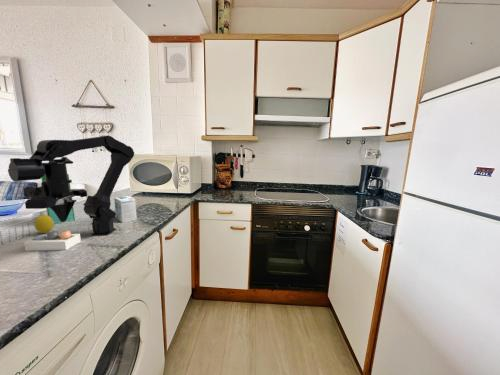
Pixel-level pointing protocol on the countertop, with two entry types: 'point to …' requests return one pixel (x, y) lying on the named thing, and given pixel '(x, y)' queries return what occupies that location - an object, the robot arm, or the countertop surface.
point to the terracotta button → (65, 235)
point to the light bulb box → (125, 208)
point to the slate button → (41, 237)
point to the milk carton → (52, 213)
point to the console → (52, 243)
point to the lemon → (44, 224)
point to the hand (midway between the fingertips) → (63, 221)
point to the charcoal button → (52, 235)
